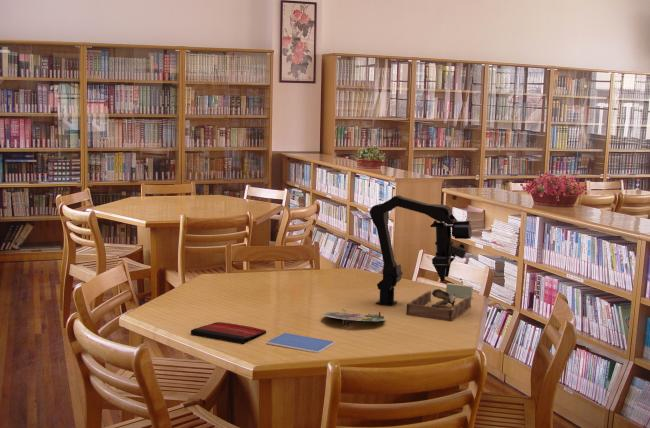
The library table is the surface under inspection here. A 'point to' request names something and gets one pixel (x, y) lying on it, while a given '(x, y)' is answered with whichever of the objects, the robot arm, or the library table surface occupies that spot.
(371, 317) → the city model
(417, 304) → the crate
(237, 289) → the library table surface
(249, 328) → the binder
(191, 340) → the library table surface
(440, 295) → the eagle figurine
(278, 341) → the blue book
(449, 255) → the robot arm
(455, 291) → the stop rail
